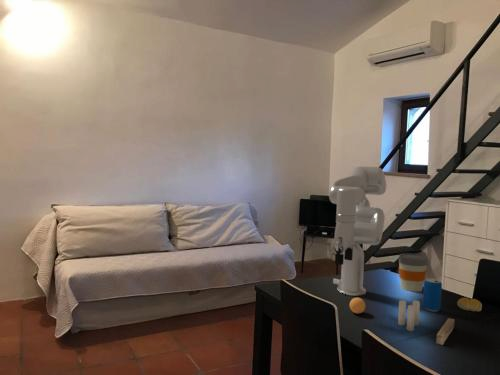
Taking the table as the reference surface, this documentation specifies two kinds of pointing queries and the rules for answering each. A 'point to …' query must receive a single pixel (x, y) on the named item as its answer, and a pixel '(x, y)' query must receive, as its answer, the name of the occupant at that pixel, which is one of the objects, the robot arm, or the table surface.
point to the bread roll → (469, 304)
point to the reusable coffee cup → (412, 271)
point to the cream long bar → (445, 331)
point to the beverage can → (432, 294)
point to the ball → (357, 305)
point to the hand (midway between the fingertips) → (343, 261)
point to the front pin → (402, 312)
